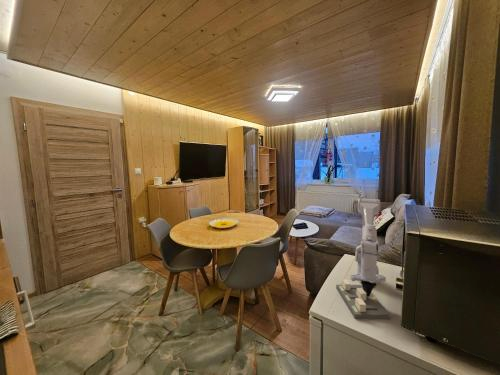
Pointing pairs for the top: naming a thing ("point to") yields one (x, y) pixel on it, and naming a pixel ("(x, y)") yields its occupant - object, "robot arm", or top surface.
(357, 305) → the block
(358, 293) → the breaker
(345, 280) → the block
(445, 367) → the top surface
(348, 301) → the breaker panel
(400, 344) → the top surface
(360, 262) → the robot arm
